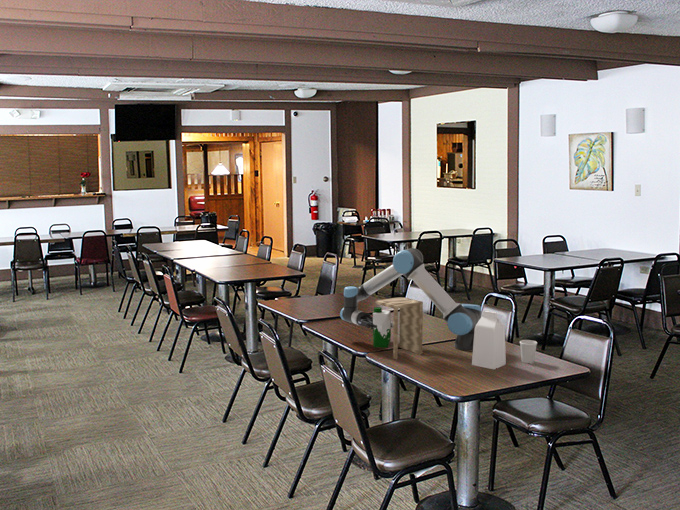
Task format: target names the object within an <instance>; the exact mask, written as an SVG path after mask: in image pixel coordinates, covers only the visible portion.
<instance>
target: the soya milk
mask: <svg viewBox="0 0 680 510" xmlns="http://www.w3.org/2000/svg"><path fill="white" fill-rule="evenodd" d="M382 309H383V308H382V307H379V306H375V307H373V311H372V317H373V324H374V325H377V328H374V327H373V329H372V341H373V348H380V349H381V348H382V349H383V348H385V349H388V347H389V346H390V343H391V335H392V334H391V333H392V331H391V330H392V327H391V322H392V319H391V318H392V317H391V310H385V309H383V310H382ZM379 324H381V325H383V330H379Z"/></svg>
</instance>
